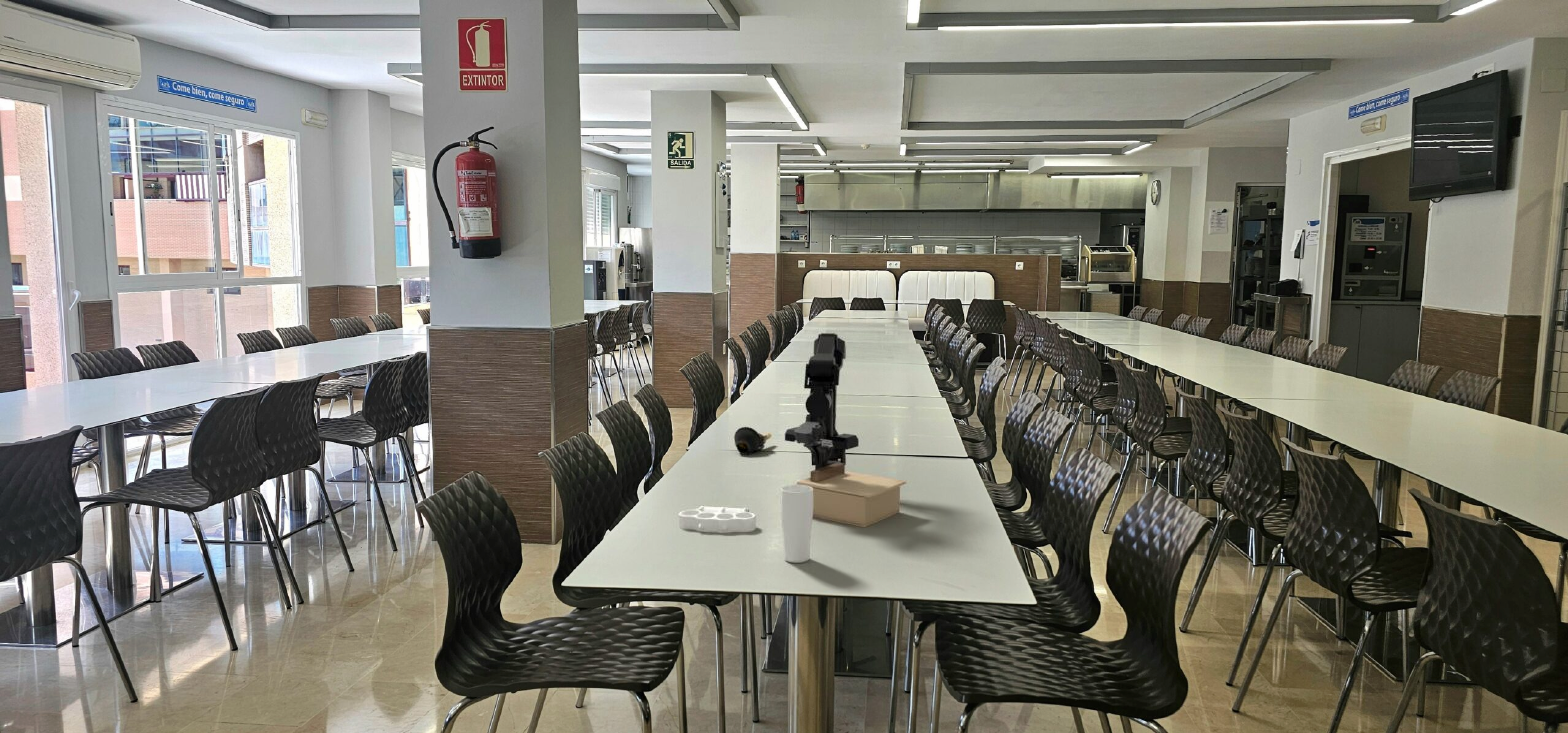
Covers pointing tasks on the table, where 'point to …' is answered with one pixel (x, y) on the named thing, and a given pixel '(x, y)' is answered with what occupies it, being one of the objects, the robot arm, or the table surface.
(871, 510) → the mailer box
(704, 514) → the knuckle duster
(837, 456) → the robot arm
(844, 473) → the mailer lid
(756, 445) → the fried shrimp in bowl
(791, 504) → the drinking glass
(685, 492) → the table surface
